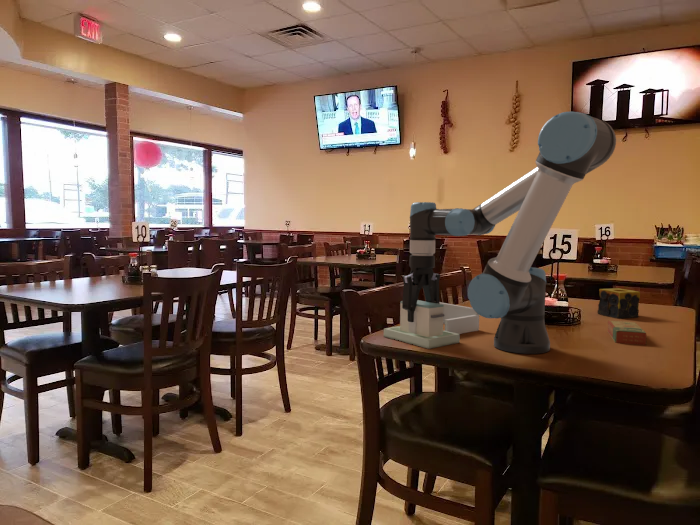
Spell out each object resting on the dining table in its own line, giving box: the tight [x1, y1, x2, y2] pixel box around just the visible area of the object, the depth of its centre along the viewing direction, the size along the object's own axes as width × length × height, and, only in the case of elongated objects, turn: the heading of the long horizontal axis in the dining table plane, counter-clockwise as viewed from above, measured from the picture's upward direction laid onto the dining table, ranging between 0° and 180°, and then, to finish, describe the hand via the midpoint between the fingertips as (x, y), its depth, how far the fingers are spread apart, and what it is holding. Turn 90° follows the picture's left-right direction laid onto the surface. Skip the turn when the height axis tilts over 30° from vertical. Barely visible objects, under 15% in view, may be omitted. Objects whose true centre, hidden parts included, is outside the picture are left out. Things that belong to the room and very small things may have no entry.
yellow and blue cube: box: [597, 287, 641, 320], centre depth 199 cm, size 10×10×10 cm
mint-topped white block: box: [399, 299, 445, 337], centre depth 156 cm, size 13×6×9 cm, turn 38°
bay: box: [439, 301, 480, 335], centre depth 175 cm, size 21×15×7 cm
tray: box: [383, 325, 461, 350], centre depth 157 cm, size 19×13×2 cm
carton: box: [607, 320, 647, 346], centre depth 161 cm, size 8×16×4 cm, turn 162°
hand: (420, 331), depth 157 cm, fingers closed on mint-topped white block, 6 cm apart
